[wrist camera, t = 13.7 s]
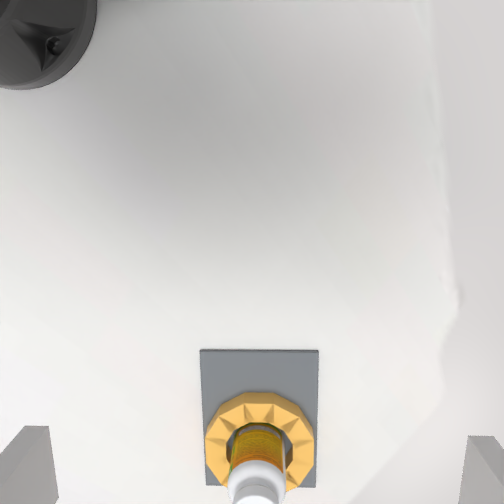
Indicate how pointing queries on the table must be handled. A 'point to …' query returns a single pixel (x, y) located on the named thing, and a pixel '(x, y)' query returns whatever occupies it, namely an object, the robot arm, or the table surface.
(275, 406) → the golden tan faceted ring
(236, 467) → the supplement bottle
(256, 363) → the slate mat
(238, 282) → the table surface
